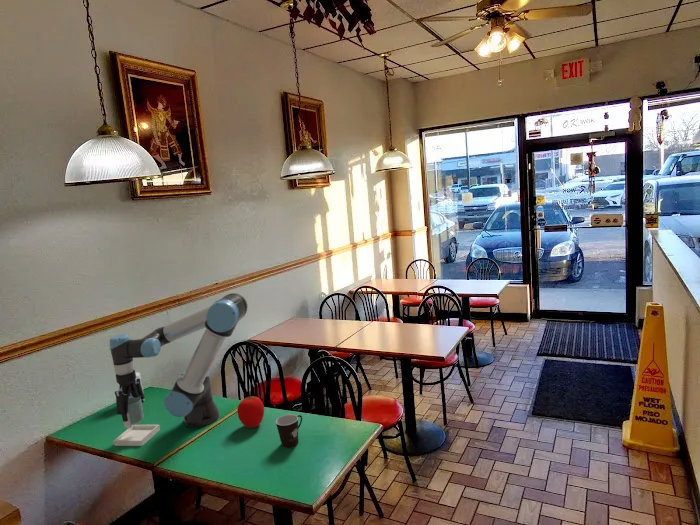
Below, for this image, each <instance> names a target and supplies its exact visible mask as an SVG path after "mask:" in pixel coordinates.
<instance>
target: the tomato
mask: <svg viewBox="0 0 700 525" xmlns="http://www.w3.org/2000/svg"><path fill="white" fill-rule="evenodd" d="M236 411H237V416H238V417H237V418H238V420H239V421H240V423H241V424H242V425H243V426H244V427H246V428H250V429H251V428H256V427H258V426H259V425H261V423H262V421H263V419H264V415H265V406H264V402H263V401H262V400H261V398H259V397H258V396H255V395H252V396H247V397H245V398H243V399H242V400H241V401H240V402H239V404H238V406H237V410H236Z"/></svg>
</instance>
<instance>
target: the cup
mask: <svg viewBox="0 0 700 525" xmlns="http://www.w3.org/2000/svg"><path fill="white" fill-rule="evenodd" d="M127 413H129V415H130V421H131V426H132V425H139V424H140V423H141V422H142V420H143V419H144V417H143V415H144V409H143V403H142V402H141V398H140V397H137V398H134V397H132V398H129V399H128V411H127Z"/></svg>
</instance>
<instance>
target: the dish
mask: <svg viewBox="0 0 700 525" xmlns="http://www.w3.org/2000/svg"><path fill="white" fill-rule="evenodd" d="M131 426H132V427H131V428H126V430H124V432H122V433H121V434H120V435H119V436H117V437H116V438H115V439H113V445H114V447H116V446H117V447H125V446H126V447H143V446H144V445H145V444H146V443H147V442H148V441H149V440H151V439H152V438H153V437H154V436H155V435H156V434H157V433H158V432H160V430H161V428H160V427H161V426H160V424H136V425H131ZM142 445H143V446H142Z"/></svg>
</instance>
